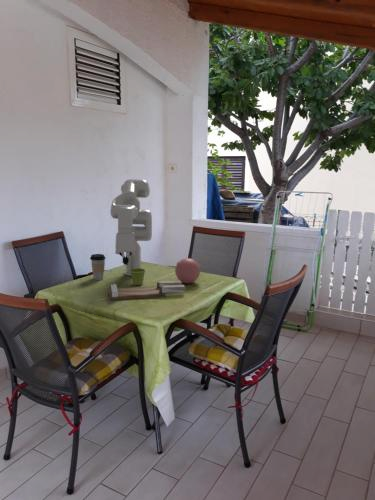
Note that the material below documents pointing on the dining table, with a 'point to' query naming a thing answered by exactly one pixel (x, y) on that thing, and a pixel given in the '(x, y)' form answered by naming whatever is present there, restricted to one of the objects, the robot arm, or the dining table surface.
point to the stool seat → (148, 290)
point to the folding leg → (114, 290)
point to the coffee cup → (98, 265)
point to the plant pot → (137, 276)
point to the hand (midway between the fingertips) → (125, 264)
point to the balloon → (187, 270)
